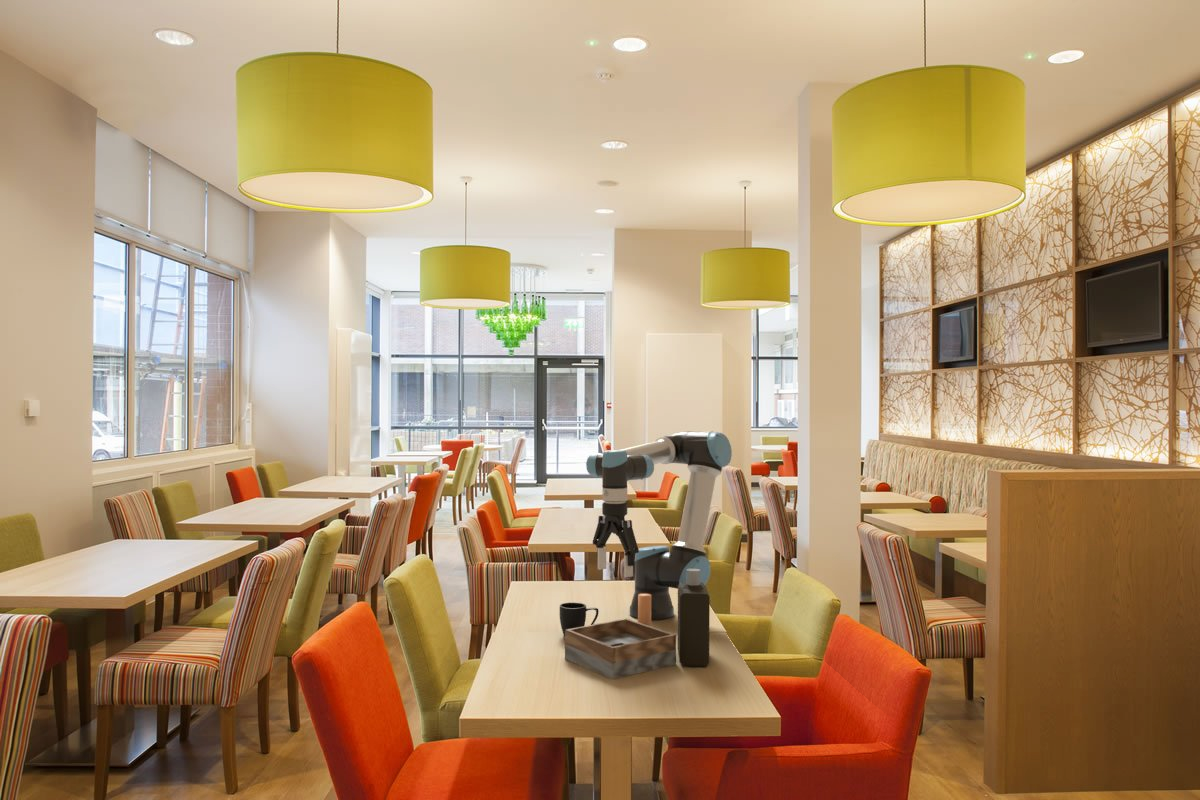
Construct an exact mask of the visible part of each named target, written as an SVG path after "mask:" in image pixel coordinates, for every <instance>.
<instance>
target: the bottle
mask: <svg viewBox="0 0 1200 800" xmlns="http://www.w3.org/2000/svg"><path fill="white" fill-rule="evenodd" d="M710 602H711V601H710V595H709V592H708V589H707V586H706V584H705V585H704V584H703V583H702V582H700V569H687V582H681V583H680V584H679V585H678V589H677V653H678V659H679V663H680V664H681V666H682V667H683V668H684V667H685V668H707V666H708V665H709V664H710V614H711V613H710V612H711V611H710V605H711V603H710Z"/></svg>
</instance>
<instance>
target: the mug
mask: <svg viewBox="0 0 1200 800" xmlns="http://www.w3.org/2000/svg"><path fill="white" fill-rule="evenodd" d="M592 610H593V611H595V615H594V618H593V620H592V622H591V623H590V625H593V624H595V622H596V621H597V619H598V617H599V612H600V611H599V608H598V607H587V604H585V603H582V602H573V601H572V602H570V601H569V602H565V603H561V604H559V622H560V627H561V631H562V634H563V638H565V630H566V629H572V628H577V627H582V626H586V620H587V612H588V611H592Z"/></svg>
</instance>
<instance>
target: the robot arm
mask: <svg viewBox="0 0 1200 800" xmlns="http://www.w3.org/2000/svg"><path fill="white" fill-rule="evenodd" d="M732 451H733V450H732V445H731V442H730V440H729V438H728V437H727V436H726V435H725V433H722V432H717V431H713V430H712V431H692V430H690V431H689V430H687V431H680V432H675V433H672V434H671V433H670V434H669V435H664V436H660V437H658V438H657V439H656V440H655V441H652V442H648V443H644V444H643V443H642V444H639V445H635V446H630V447H627V448H621V449H610V450H607V449H606V450H605V451H603V452H597V453H591V454H590V455H589V456H588V457H587V460H586V463H585V464H586V465H585V466H586V470H587V473H588V474H589V475H590V476H592V477H597V478H601V479H602V487H601V488H602V501H603V502H602V504H601V505H602V506H601V508H602V509H601V511H602V515H599V516H598V517H597V518H598V520H597V521H598V522H597V525H596V529H595V532H594V535H593V540H592V545H594V546H595V547H596V549H597V550H596V557H597V570H598V571H600V570H606V569H607V545H606V543H607V542H608V540H609V538H610V536H611V535H612V534H615V535H616V536H617V538H618V539H619V541H620V543H621V546H622V548H623V550H624V554H623V577H624V578H632V577H634V593H633V596H632V600H631V602H630V606H629V615H630V616H631V617H633V618H636V619H638V595H639V594H651V621H652V620H653V621H654V620H665V619H666V620H667V619H670V618H672V617H674V615H675V613H674V612H675V609H674V606H673V601H672V598H671V594H670V588H671V589H675V590H676V589H677V590H678V585H679V584H680V583H681V582H687V569H700V582H702V583H703V584H704V585H705V586H706V584H707V582H708V581H709V578H710V575H711V568H712V567H711V562H710V559H708V558H707V551H706V550H705V548H704V543H705V542H704V541H705V537H706V531H707V525H708V521H709V516H710V510H711V506H712V499H713V493H714V489H715V482H716V478H718V476H720V475H721V474H722V470H723V468H726V467H727V466H729V464H730V462H731V460H732V456H733V453H732ZM657 464H662V465H669V464H681V465H687V468H688V470H689V472H690V475H689V476H690V477H689V481H688V485H687V490H686V496H685V501H684V506H683V511H682V517H681V523H680V526H679V531H678V532H679V533H678V535H677V536H678V537H677V541H676V542H675V543H673V544H671V548H670V547H669V546H668V545H653V546H645V547H644V546H643V547H640V548H639V547H638V543H637V539H636V536H635V533H634V530H633V521H632V520H631V519H629V520H626V519H625V516H627V515H628V503H627V501H628V498H629V497H628V481H635V480H636V481H637V480H644V479H648V478H650V477H652V475H653V473H654V470H655V465H657Z"/></svg>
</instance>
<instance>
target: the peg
mask: <svg viewBox="0 0 1200 800" xmlns="http://www.w3.org/2000/svg"><path fill="white" fill-rule="evenodd" d="M637 622H639V623H642V624H645V625H648V626H651V627H652V620H651V594H639V595H638V618H637Z"/></svg>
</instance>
